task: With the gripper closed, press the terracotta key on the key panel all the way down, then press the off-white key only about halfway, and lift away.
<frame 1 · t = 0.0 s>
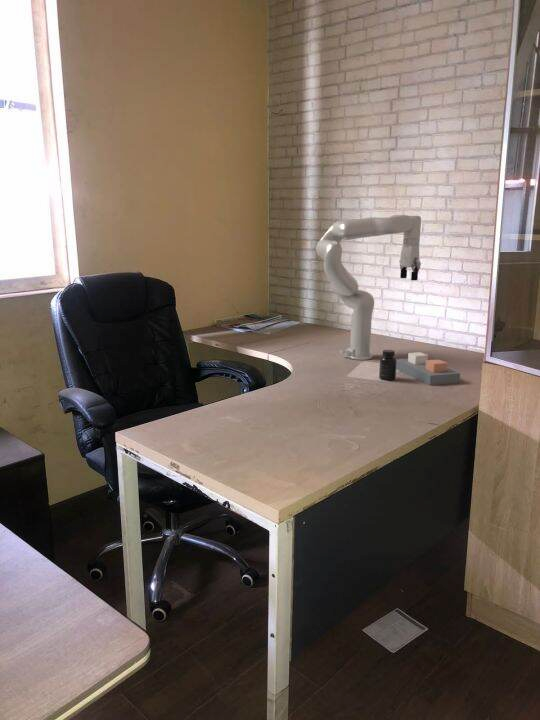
hand: (408, 279, 276), 37 cm above the table, tool pointing down, fingers open, 9 cm apart
terracotta key: (435, 367, 240), point 5 cm above the table, slide at 0.0 cm
key panel: (425, 375, 248), on the table
supplement bottle: (387, 379, 241), on the table
off-white key: (417, 359, 253), point 5 cm above the table, slide at 0.0 cm
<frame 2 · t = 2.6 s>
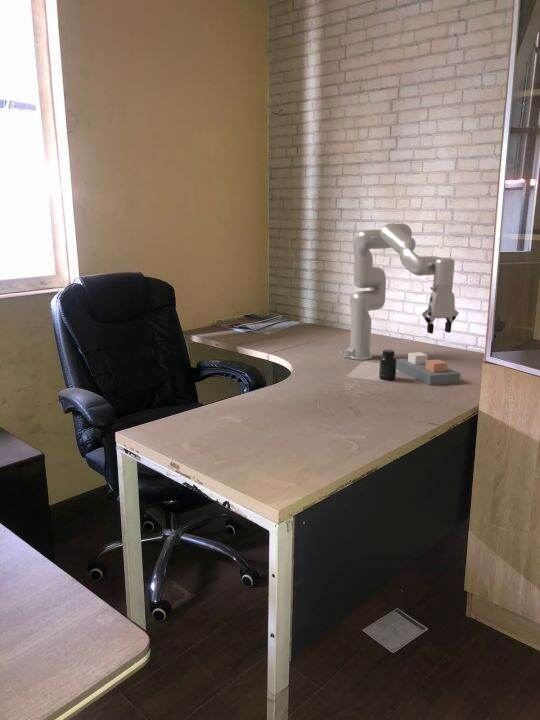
hand: (438, 332, 236), 20 cm above the table, tool pointing down, fingers open, 7 cm apart
nothing on the table moved.
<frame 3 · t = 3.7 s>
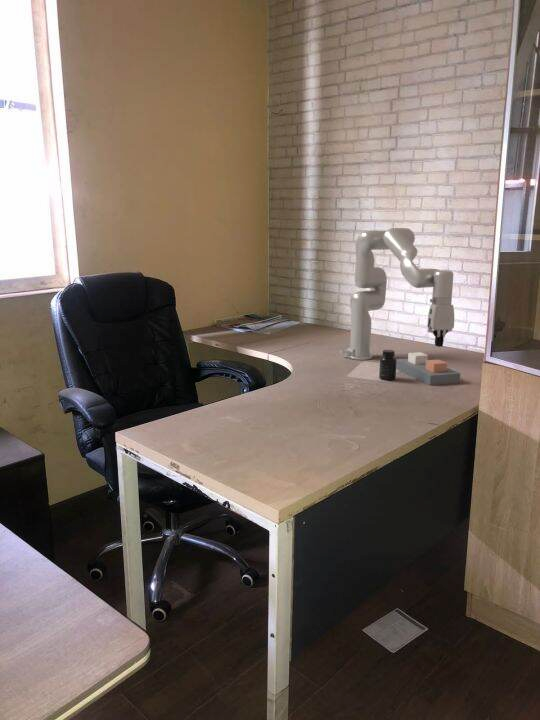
hand: (438, 346, 237), 14 cm above the table, tool pointing down, fingers closed
nothing on the table moved.
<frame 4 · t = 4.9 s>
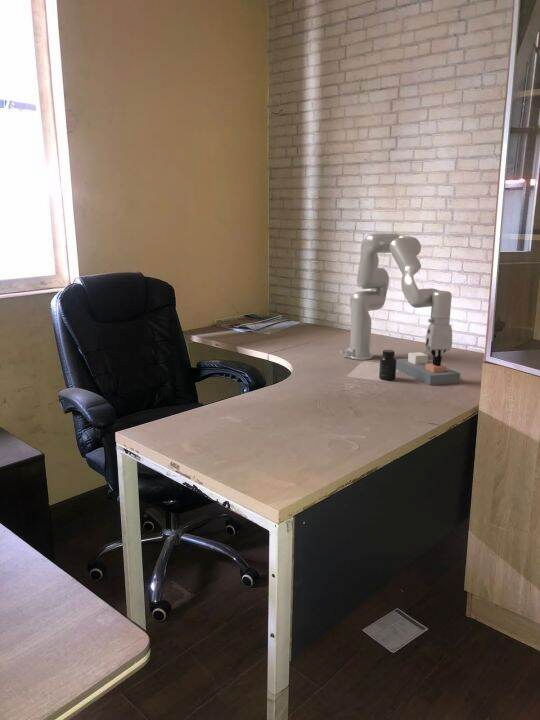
hand: (436, 365, 239), 6 cm above the table, tool pointing down, fingers closed
terracotta key: (435, 371, 240), point 4 cm above the table, slide at 1.5 cm, touching gripper
everything else where it was.
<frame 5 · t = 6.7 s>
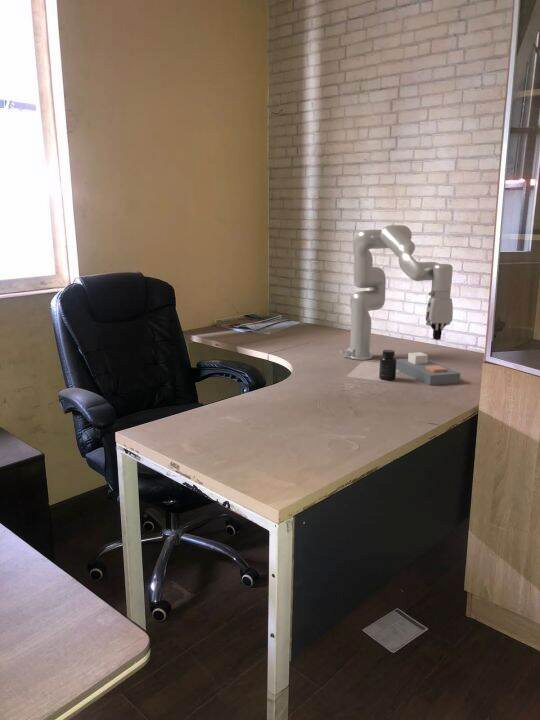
hand: (436, 339, 238), 17 cm above the table, tool pointing down, fingers closed
terracotta key: (435, 373, 240), point 3 cm above the table, slide at 2.5 cm
everything else where it was.
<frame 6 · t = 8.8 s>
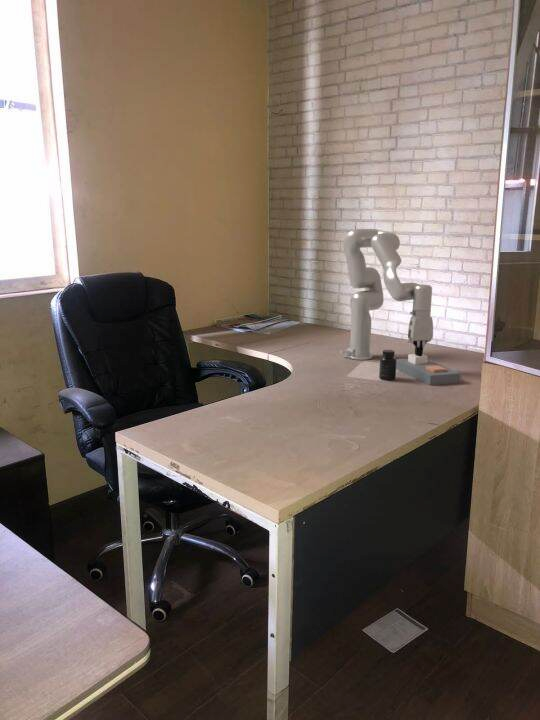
hand: (418, 355, 252), 7 cm above the table, tool pointing down, fingers closed
off-white key: (417, 360, 253), point 5 cm above the table, slide at 0.6 cm, touching gripper
everything else where it was.
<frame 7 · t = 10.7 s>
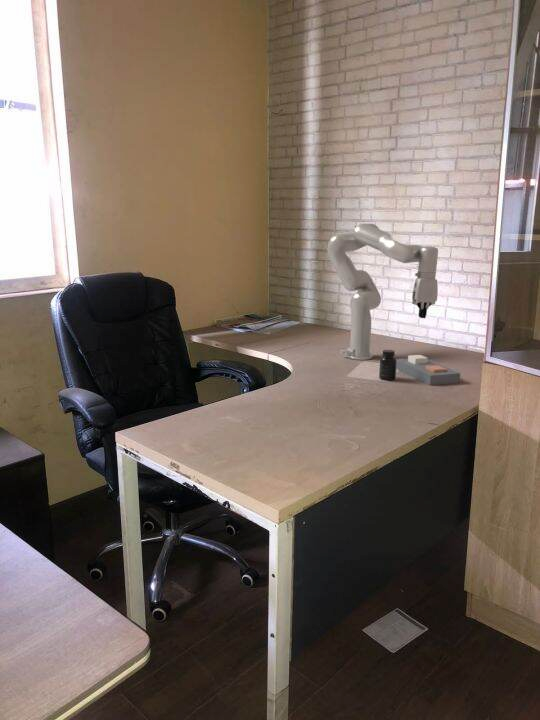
hand: (422, 317, 255), 23 cm above the table, tool pointing down, fingers closed
off-white key: (417, 362, 253), point 4 cm above the table, slide at 1.2 cm
everything else where it was.
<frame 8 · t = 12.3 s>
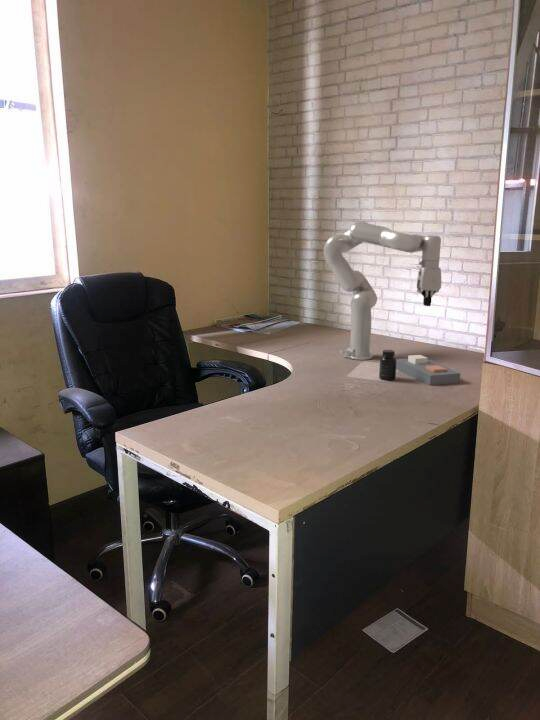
hand: (426, 305, 259), 27 cm above the table, tool pointing down, fingers closed
nothing on the table moved.
at the end: terracotta key slide at 2.5 cm; off-white key slide at 1.2 cm; supplement bottle moved 0.2 cm from its start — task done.
